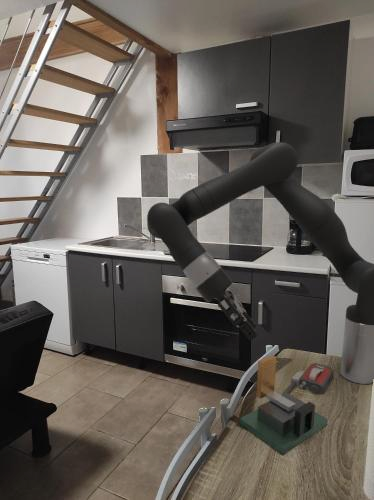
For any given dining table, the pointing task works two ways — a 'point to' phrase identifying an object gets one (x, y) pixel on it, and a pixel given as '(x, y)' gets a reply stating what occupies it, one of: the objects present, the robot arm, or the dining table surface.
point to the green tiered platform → (284, 423)
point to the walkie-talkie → (312, 379)
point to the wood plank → (270, 383)
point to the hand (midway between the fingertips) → (253, 333)
